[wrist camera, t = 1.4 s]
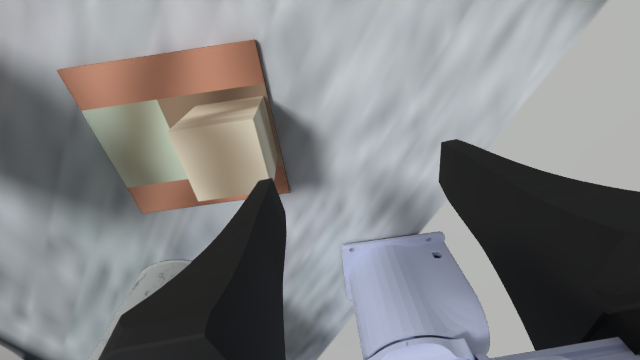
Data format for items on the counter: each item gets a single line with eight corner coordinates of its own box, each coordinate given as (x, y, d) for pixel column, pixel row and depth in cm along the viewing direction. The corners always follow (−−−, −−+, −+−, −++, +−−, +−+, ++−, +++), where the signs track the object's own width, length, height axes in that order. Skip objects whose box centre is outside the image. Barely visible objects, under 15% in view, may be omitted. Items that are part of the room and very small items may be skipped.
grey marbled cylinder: (208, 249, 25) (142, 418, 15) (250, 309, 30) (222, 468, 20) (114, 273, 26) (-11, 448, 16) (170, 327, 31) (103, 488, 21)
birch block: (263, 95, 18) (253, 119, 14) (277, 157, 20) (272, 191, 17) (195, 105, 18) (166, 131, 14) (217, 165, 20) (198, 201, 17)
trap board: (255, 39, 17) (254, 39, 16) (289, 190, 22) (289, 192, 22) (60, 69, 17) (56, 70, 17) (144, 211, 23) (142, 213, 22)
